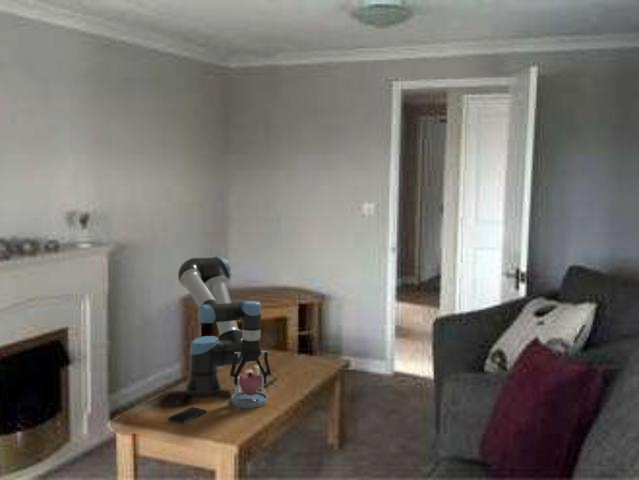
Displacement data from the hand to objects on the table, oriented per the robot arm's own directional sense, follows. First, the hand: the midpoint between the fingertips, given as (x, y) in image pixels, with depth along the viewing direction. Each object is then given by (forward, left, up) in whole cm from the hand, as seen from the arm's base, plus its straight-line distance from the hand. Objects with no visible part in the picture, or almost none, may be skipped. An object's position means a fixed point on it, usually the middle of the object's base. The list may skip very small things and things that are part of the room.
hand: (250, 391), depth 280 cm
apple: (0, 0, -1) cm, 1 cm away
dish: (0, 0, -4) cm, 4 cm away
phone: (-26, -13, -5) cm, 29 cm away
